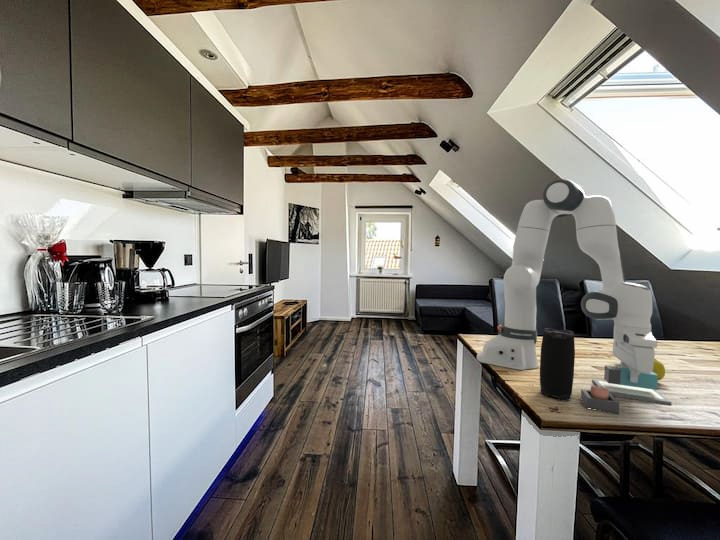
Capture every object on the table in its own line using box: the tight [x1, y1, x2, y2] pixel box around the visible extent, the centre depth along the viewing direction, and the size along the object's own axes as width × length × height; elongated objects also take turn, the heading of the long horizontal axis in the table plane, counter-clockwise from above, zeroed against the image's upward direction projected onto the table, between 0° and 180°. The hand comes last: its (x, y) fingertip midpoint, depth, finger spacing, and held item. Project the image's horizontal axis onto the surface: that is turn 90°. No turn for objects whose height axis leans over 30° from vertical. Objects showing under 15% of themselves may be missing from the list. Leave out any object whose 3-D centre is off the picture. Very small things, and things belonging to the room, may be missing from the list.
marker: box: [603, 364, 659, 391], centre depth 100 cm, size 12×4×4 cm, turn 68°
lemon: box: [652, 358, 666, 381], centre depth 110 cm, size 6×6×8 cm
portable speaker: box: [539, 327, 576, 401], centre depth 95 cm, size 9×9×20 cm
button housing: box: [580, 388, 621, 415], centre depth 89 cm, size 7×7×3 cm
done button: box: [590, 385, 609, 400], centre depth 89 cm, size 4×4×3 cm
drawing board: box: [591, 378, 673, 406], centre depth 100 cm, size 16×12×1 cm
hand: (629, 378), depth 100 cm, fingers closed on marker, 4 cm apart
